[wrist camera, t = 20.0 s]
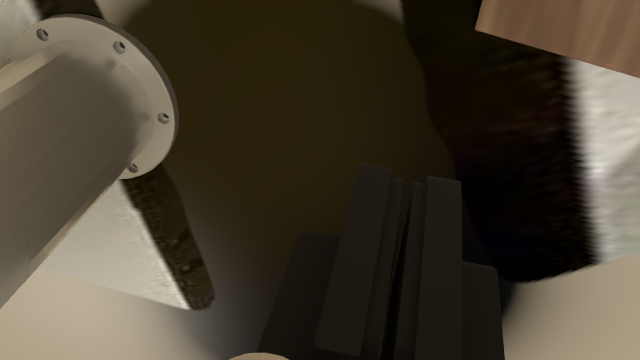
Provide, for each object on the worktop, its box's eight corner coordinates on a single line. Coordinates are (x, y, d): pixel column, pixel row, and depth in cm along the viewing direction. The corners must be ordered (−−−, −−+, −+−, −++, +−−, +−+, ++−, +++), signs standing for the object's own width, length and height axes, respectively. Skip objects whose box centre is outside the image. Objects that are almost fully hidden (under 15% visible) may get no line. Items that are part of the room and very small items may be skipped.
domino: (474, 29, 33) (663, 85, 29) (498, -64, 30) (712, -17, 26) (484, 22, 34) (667, 75, 30) (508, -68, 31) (713, -23, 27)
